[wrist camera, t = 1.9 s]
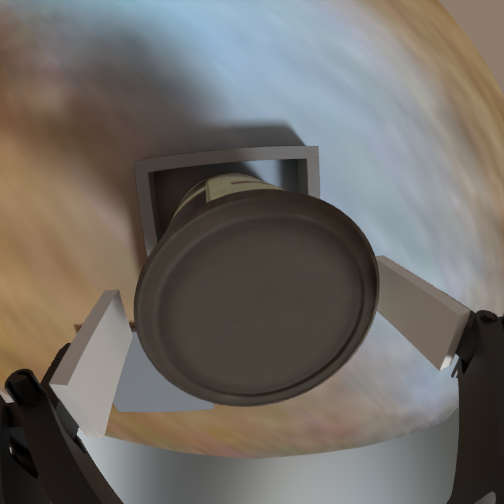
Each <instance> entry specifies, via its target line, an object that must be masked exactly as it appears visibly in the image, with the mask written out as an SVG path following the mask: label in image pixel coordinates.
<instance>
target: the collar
mask: <svg viewBox="0 0 504 504" xmlns="http://www.w3.org/2000/svg"><path fill="white" fill-rule="evenodd" d="M275 159H297V176H298V192H299V193H303V194H306V195H310V196H313V197H316V198H318V199H320V176H319V150H318V146H274V147H251V148H236V149H223V150H212V151H202V152H193V153H185V154H177V155H170V156H163V157H156V158H150V159H144V160H138V161H134V169H135V178H136V187H137V195H138V202H139V209H140V216H141V222H142V229H143V234H144V240H145V246H146V251H147V256H149V255H150V253H151V251H152V250H153V248H154V247H155V246H156V244H157V243H158V241H159V240H160V239H161V238H162V237H163V236H162V230H161V223H160V216H159V209H158V201H157V193H156V185H155V175H154V171H160V170H166V169H174V168H181V167H189V166H198V165H207V164H217V163H228V162H241V161H256V160H275Z"/></svg>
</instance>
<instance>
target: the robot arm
mask: <svg viewBox="0 0 504 504" xmlns="http://www.w3.org/2000/svg"><path fill="white" fill-rule="evenodd" d="M376 261H377V264H378V269H379V277H380V292H379V301H378V306H377V311H378V312H379V313H380V314H381V315H382V316H383V317H384V318H385V319H387V320H388V321H389V322H390V323H391V324H392V325H393V326H394V327H395V328H396V329H397V330H398V331H399V332H400V333H401V334H402V335H403V336H405V337H406V338H407V339H408V340H409V341H410V342H411V343H412V344H413V345H414V346H415V347H416V348H417V349H418V350H419V351H420V352H421V353H422V354H423V355H424V356H425V357H426V358H427V359H428V360H429V361H430V362H431V363H432V364H433V365H434V366H435V367H436V368H437V369H438V370H439V371H440V370H442V369H444V368H446V367H447V366H449V365H451V362H452V360H453V358H454V355H455V353H456V354H457V355H458V356H459V359H458V361H457V364H456V366H455V368H454V370H453V372H452V375H451V377H452V378H453V377H454V375H455V373H456V372H458V374H457V376H456V378H458V385H459V440H458V453H457V463H456V472H455V478H454V485H453V490H452V494H451V497H450V499H449V501H448V502H447V504H504V315H503V316H502V317H498V316H497V315H495V314H494V313H492V312H490V311H486V310H480V311H477V313H474V312H473V311H471V310H470V309H469V308H467V307H466V306H464V305H463V304H461V303H460V302H458V301H456V300H455V299H454V298H452V297H450V296H449V295H448V294H446V293H444V292H443V291H441V290H439V289H437V288H436V287H434V286H433V285H431V284H430V283H428V282H426V281H425V280H423V279H422V278H420V277H418V276H417V275H415V274H414V273H412V272H410V271H409V270H407V269H405V268H404V267H402V266H400V265H399V264H397V263H395V262H394V261H392V260H390V259H388V258H387V257H385V256H377V257H376ZM132 337H133V335H132V332H131V329H130V326H129V323H128V320H127V316H126V313H125V310H124V306H123V303H122V300H121V296H120V292H119V289H117V290H106V291H105V292H104V293H103V294H102V296H101V297H100V299H99V300H98V302H97V303H96V305H95V306H94V308H93V309H92V311H91V312H90V314H89V316H88V317H87V319H86V320H85V322H84V323H83V325H82V327H81V328H80V330H79V331H78V333H77V335H76V336H75V338H74V340H73V341H72V343H67V344H66V345H65V346H64V347H62V348H61V349H60V350H59V352H58V353H57V355H56V357H55V360H53V362H52V363H51V366H50V367H49V369H48V370H47V372H46V374H45V376H44V377H43V379H42V381H41V383H39V382H38V380H37V378H36V377H35V375H34V374H33V372H32V371H31V370H29V369H20V370H17V371H15V372H14V373H12V374H11V375H10V376H9V377H8V378H7V380H6V382H5V389H6V391H7V392H8V394H9V395H10V397H11V398H12V399H13V401H14V402H12V403H6V402H5V400H4V399H3V398H2V396H1V395H0V504H51V503H52V504H124V503H123V502H122V501H121V500H120V498H119V497H118V496H117V494H116V493H115V492H114V490H113V489H112V488H111V486H110V485H109V484H108V482H107V481H106V479H105V478H104V476H103V475H102V474H101V472H100V471H99V469H98V467H97V466H96V464H95V463H94V461H93V460H92V458H91V457H90V455H89V453H88V451H87V450H86V448H85V447H84V445H83V443H82V441H81V439H80V438H79V437H78V436H77V431H78V428H80V429H81V430H82V431H83V432H84V434H85V435H86V436H90V437H99V438H104V435H105V431H106V427H107V422H108V418H109V414H110V411H111V407H112V403H113V399H114V396H115V392H116V388H117V385H118V381H119V378H120V375H121V371H122V368H123V365H124V362H125V359H126V355H127V352H128V349H129V346H130V343H131V340H132ZM10 447H11V449H12V453H11V452H10Z"/></svg>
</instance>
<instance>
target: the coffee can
mask: <svg viewBox="0 0 504 504" xmlns="http://www.w3.org/2000/svg"><path fill="white" fill-rule="evenodd" d="M379 292H380V277H379V269H378V264H377V261H376V257H375V254H374V252H373V250H372V247H371V245H370V243H369V241H368V239H367V238H366V236H365V235H364V233H363V232H362V231H361V229H360V228H359V227H358V226H357V225H356V223H355V222H354V221H353V220H352V219H351V218H349V217H348V216H347V215H346V214H344V213H343V212H342V211H341V210H339V209H338V208H336V207H334V206H333V205H331V204H329V203H327V202H325V201H323V200H321V199H318V198H316V197H313V196H310V195H306V194H303V193H299V192H294V191H288V190H285V189H282V188H279V187H277V186H274V185H271V184H269V183H266V182H263V181H262V180H260V179H258V178H256V177H253V176H250V175H246V174H241V173H223V174H218V175H214V176H211V177H208V178H206V179H204V180H202V181H201V182H199V183H197V184H196V185H195V186H193V187H192V188H191V189H190V190H189V191H188V192H187V193H186V194H185V196H184V197H183V198H182V200H181V201H180V203H179V205H178V207H177V209H176V211H175V214H174V216H173V218H172V220H171V222H170V224H169V226H168V228H167V229H166V231H165V233H164V235H163V237H162V238H161V239H160V240H159V241H158V243H157V244H156V246H155V247H154V248H153V250H152V251H151V253H150V255H149V256H148V258H147V260H146V262H145V264H144V267H143V269H142V271H141V274H140V276H139V280H138V283H137V287H136V292H135V298H134V322H135V328H136V332H137V336H138V339H139V341H140V344H141V346H142V349H143V351H144V352H145V354H146V356H147V357H148V359H149V360H150V362H151V363H152V364H153V366H154V367H155V368H156V369H157V371H158V372H159V373H160V374H161V375H163V376H164V378H165V379H166V380H167V381H169V382H170V383H171V384H173V385H174V386H175V387H177V388H179V389H180V390H182V391H184V392H185V393H187V394H189V395H191V396H194V397H196V398H198V399H201V400H204V401H208V402H211V403H215V404H219V405H227V406H238V407H254V406H263V405H269V404H274V403H279V402H282V401H285V400H289V399H291V398H294V397H297V396H299V395H302V394H304V393H306V392H308V391H310V390H312V389H313V388H315V387H317V386H319V385H321V384H322V383H323V382H325V381H326V380H328V379H329V378H331V377H332V376H333V375H334V374H336V373H337V372H338V371H339V370H340V369H341V368H342V367H343V366H344V365H345V364H346V363H347V362H348V361H349V360H350V359H351V358H352V357H353V355H354V354H355V353H356V351H357V350H358V349H359V347H360V346H361V345H362V343H363V341H364V339H365V338H366V336H367V334H368V332H369V330H370V328H371V325H372V323H373V320H374V317H375V314H376V311H377V306H378V301H379Z"/></svg>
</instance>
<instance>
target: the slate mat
mask: <svg viewBox="0 0 504 504" xmlns="http://www.w3.org/2000/svg"><path fill="white" fill-rule="evenodd" d="M130 329H131V332H132V335H133V337H132V340H131V343H130V346H129V349H128V352H127V355H126V359H125V362H124V365H123V368H122V371H121V375H120V378H119V381H118V385H117V388H116V392H115V396H114V399H113V404H114V405H115V407H116V409H117V410H118V412H176V411H193V410H206V409H214V403H211V402H208V401H204V400H201V399H198V398H196V397H194V396H191V395H189V394H187V393H185V392H184V391H182V390H180V389H179V388H177V387H175V386H174V385H173V384H171V383H170V382H169V381H167V380H166V379H165V378H164V376H163V375H161V374H160V373H159V372H158V371H157V369H156V368H155V367H154V366H153V364H152V363H151V362H150V360H149V359H148V357H147V356H146V354H145V352H144V351H143V349H142V346H141V344H140V341H139V339H138V336H137V332H136V328H135V327H133V328H130Z"/></svg>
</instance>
